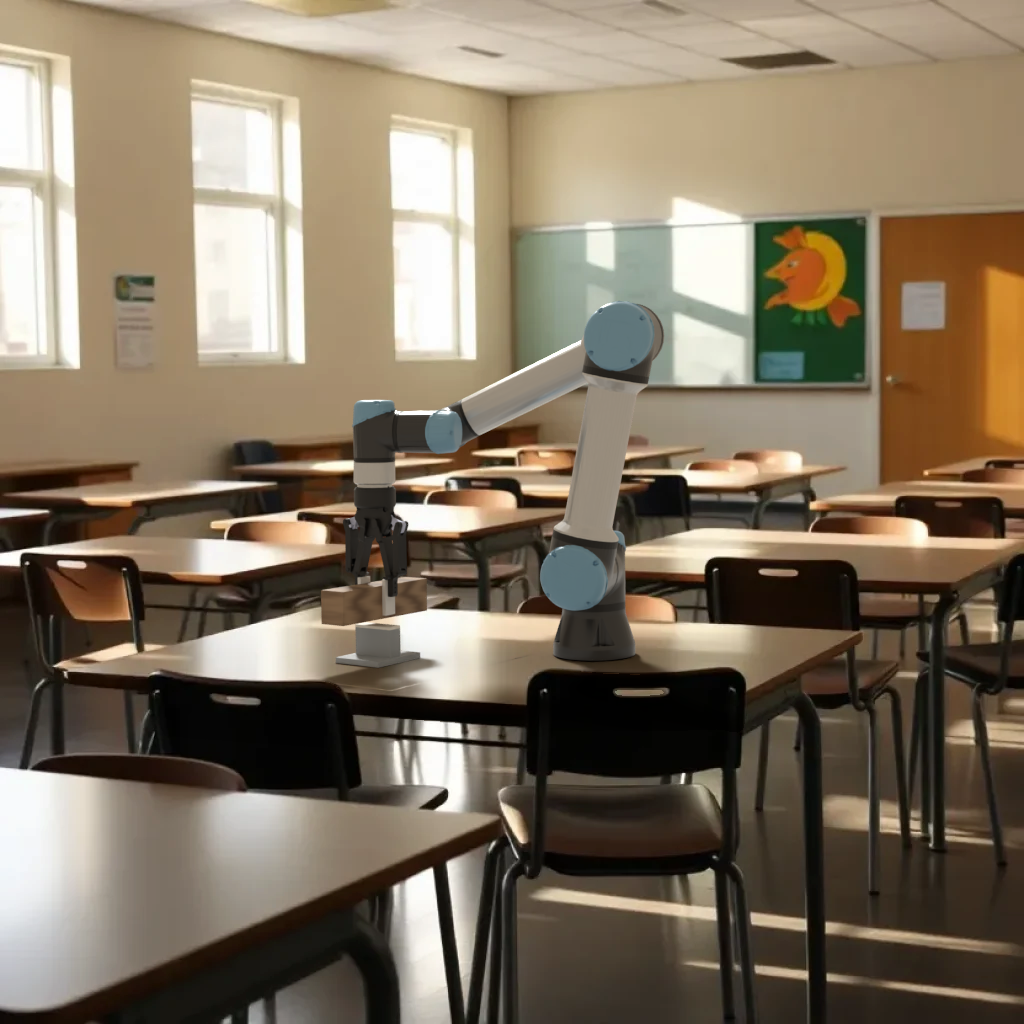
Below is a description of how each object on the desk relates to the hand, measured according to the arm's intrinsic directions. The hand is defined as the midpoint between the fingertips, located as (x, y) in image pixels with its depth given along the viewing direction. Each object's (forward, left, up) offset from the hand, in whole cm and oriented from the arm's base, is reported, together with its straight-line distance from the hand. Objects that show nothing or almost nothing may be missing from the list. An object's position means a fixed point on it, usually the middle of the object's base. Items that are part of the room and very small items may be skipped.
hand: (376, 613), depth 314 cm
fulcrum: (0, 0, -9) cm, 9 cm away
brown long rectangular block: (0, 0, -1) cm, 1 cm away
